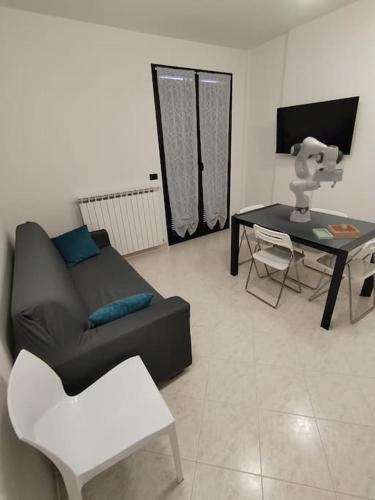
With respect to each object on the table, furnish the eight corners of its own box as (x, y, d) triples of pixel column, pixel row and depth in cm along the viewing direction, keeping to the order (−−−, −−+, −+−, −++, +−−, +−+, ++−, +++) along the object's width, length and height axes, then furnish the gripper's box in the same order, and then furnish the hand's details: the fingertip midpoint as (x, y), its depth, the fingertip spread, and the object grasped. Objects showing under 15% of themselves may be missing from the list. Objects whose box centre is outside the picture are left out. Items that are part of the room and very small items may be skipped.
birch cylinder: (338, 233, 194) (340, 224, 191) (344, 233, 193) (345, 223, 190) (340, 235, 191) (342, 225, 187) (346, 235, 190) (348, 225, 187)
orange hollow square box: (326, 231, 202) (327, 225, 199) (349, 231, 198) (350, 224, 196) (334, 239, 187) (335, 232, 184) (358, 239, 183) (360, 232, 181)
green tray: (312, 232, 204) (312, 228, 203) (325, 231, 202) (325, 228, 201) (318, 240, 188) (319, 236, 187) (333, 240, 186) (333, 236, 185)
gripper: (342, 168, 183) (339, 187, 187) (313, 168, 187) (310, 187, 192) (345, 168, 177) (342, 188, 182) (315, 169, 181) (312, 188, 186)
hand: (325, 187), depth 187 cm, fingers open, 8 cm apart
